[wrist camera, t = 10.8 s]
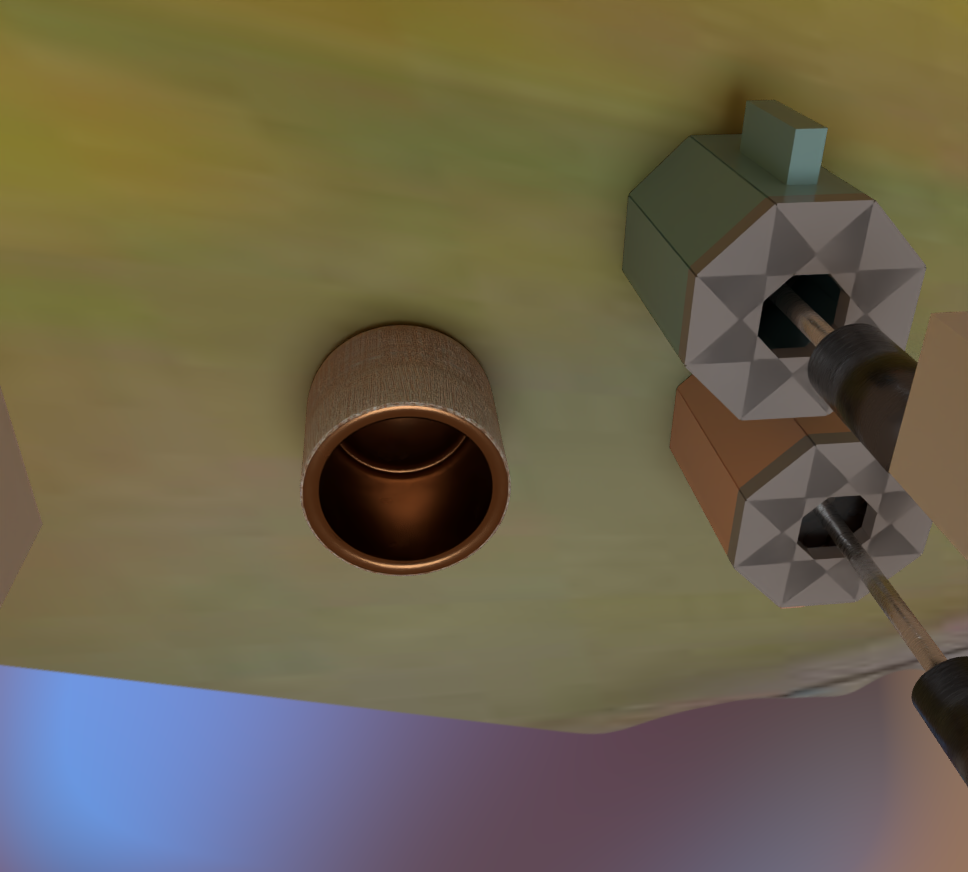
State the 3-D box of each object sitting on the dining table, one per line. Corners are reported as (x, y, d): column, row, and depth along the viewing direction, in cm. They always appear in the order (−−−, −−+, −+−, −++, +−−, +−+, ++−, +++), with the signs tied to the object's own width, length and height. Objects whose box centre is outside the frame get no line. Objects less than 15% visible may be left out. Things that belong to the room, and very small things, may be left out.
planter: (285, 340, 52) (271, 425, 44) (475, 303, 52) (495, 381, 44) (333, 494, 58) (328, 596, 49) (504, 461, 58) (526, 556, 50)
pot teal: (636, 88, 47) (711, 146, 37) (833, 84, 48) (959, 139, 38) (618, 320, 53) (677, 424, 43) (790, 312, 54) (888, 412, 44)
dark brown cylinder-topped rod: (667, 173, 47) (837, 339, 30) (819, 168, 47) (1070, 327, 30) (652, 319, 51) (794, 537, 34) (792, 312, 51) (1000, 523, 35)
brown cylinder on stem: (754, 438, 48) (966, 744, 31) (901, 429, 48) (1188, 723, 31) (732, 560, 52) (909, 889, 35) (869, 550, 52) (1107, 868, 36)
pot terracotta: (682, 342, 55) (754, 448, 44) (850, 334, 56) (958, 436, 45) (661, 517, 61) (719, 644, 51) (811, 507, 62) (898, 630, 52)
